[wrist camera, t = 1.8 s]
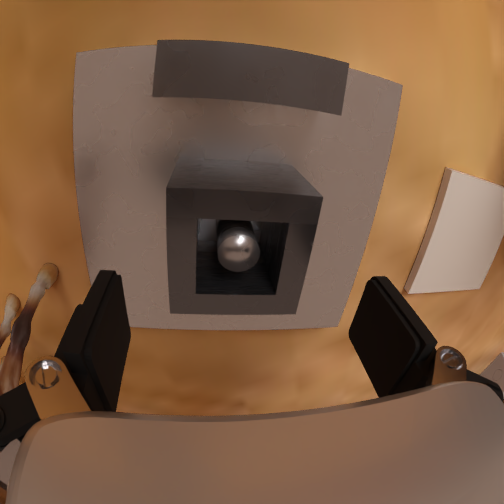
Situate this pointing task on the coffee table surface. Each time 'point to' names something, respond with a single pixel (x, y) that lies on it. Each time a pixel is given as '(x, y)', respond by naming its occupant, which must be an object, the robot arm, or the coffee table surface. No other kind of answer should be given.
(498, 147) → the coffee table surface
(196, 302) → the collar
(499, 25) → the coffee table surface
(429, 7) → the coffee table surface
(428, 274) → the pad
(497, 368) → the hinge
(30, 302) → the horse figurine
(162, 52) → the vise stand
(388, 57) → the coffee table surface
